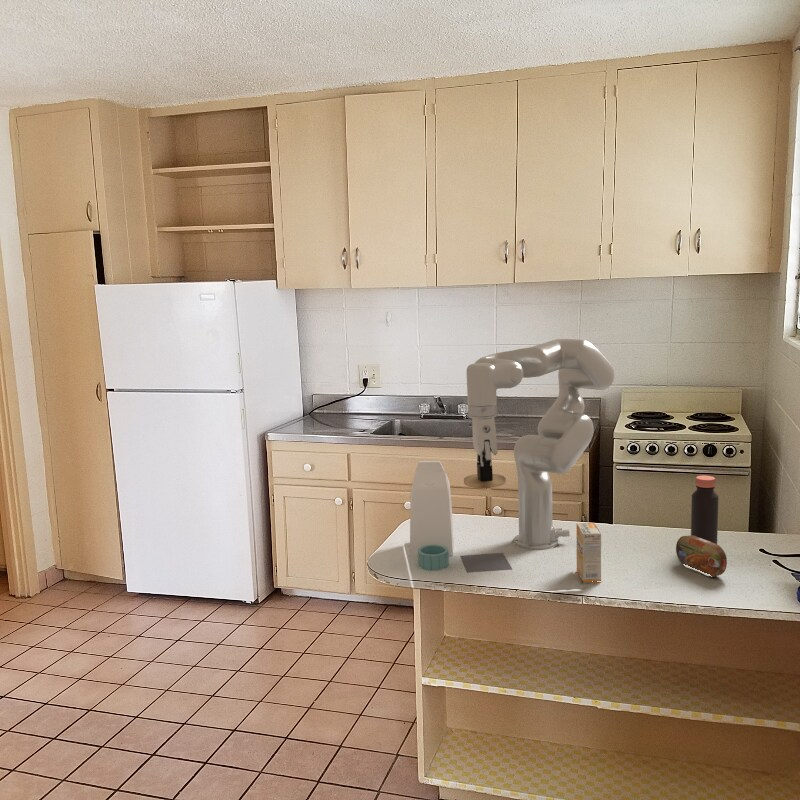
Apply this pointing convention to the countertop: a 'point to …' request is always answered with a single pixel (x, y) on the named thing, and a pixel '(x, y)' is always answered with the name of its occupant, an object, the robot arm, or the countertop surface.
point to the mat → (485, 562)
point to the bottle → (705, 509)
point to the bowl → (433, 557)
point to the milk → (430, 508)
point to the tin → (701, 555)
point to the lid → (477, 483)
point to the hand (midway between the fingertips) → (484, 478)
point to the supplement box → (588, 552)
